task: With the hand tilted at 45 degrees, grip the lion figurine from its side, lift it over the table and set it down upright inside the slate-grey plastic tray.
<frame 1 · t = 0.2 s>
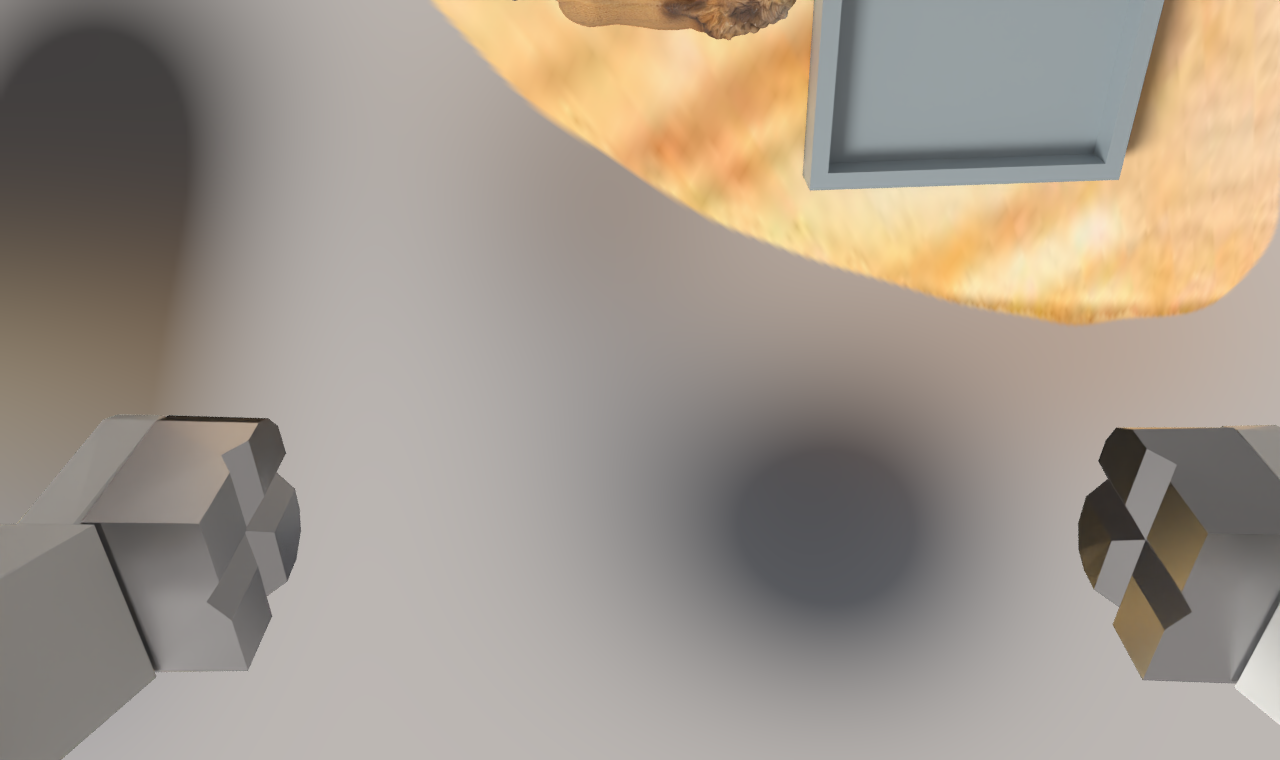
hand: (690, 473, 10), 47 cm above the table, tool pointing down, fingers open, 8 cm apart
grey tray: (972, 32, 53), on the table
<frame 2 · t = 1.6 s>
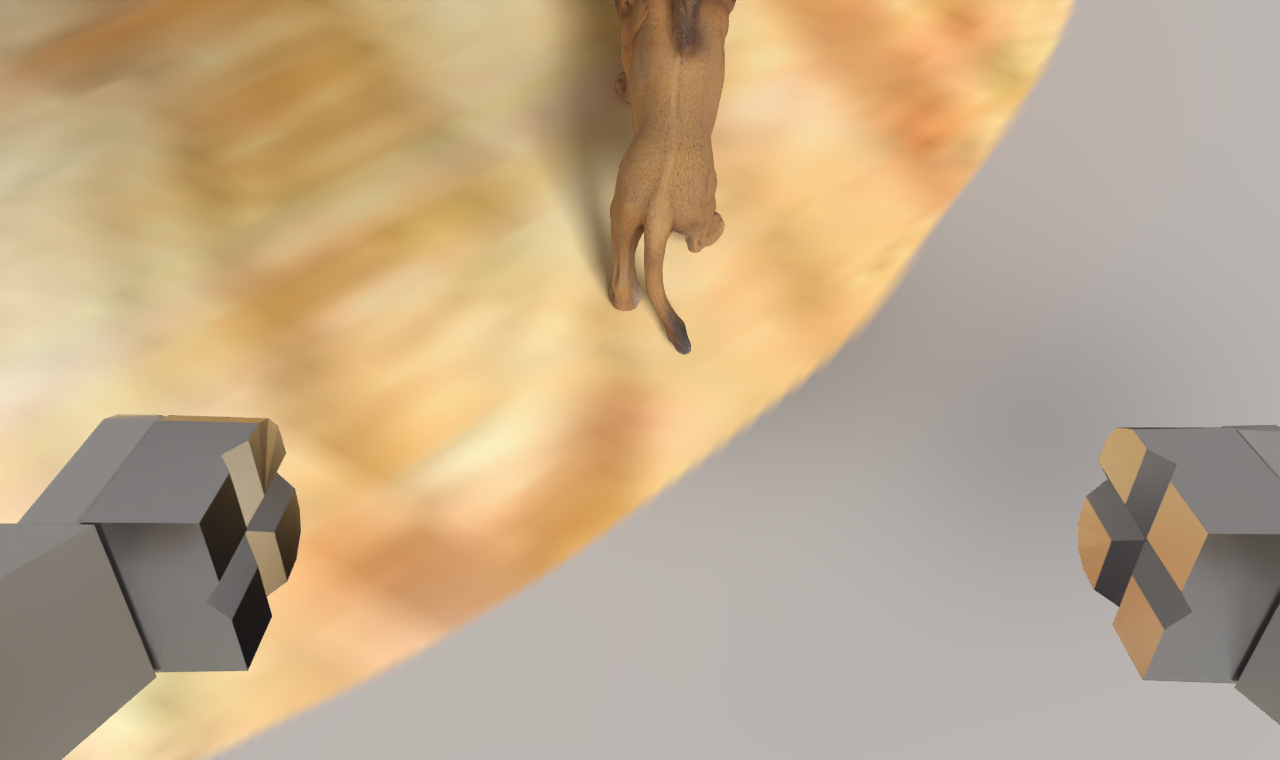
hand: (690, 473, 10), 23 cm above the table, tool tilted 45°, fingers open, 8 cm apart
lion figurine: (652, 153, 35), on the table
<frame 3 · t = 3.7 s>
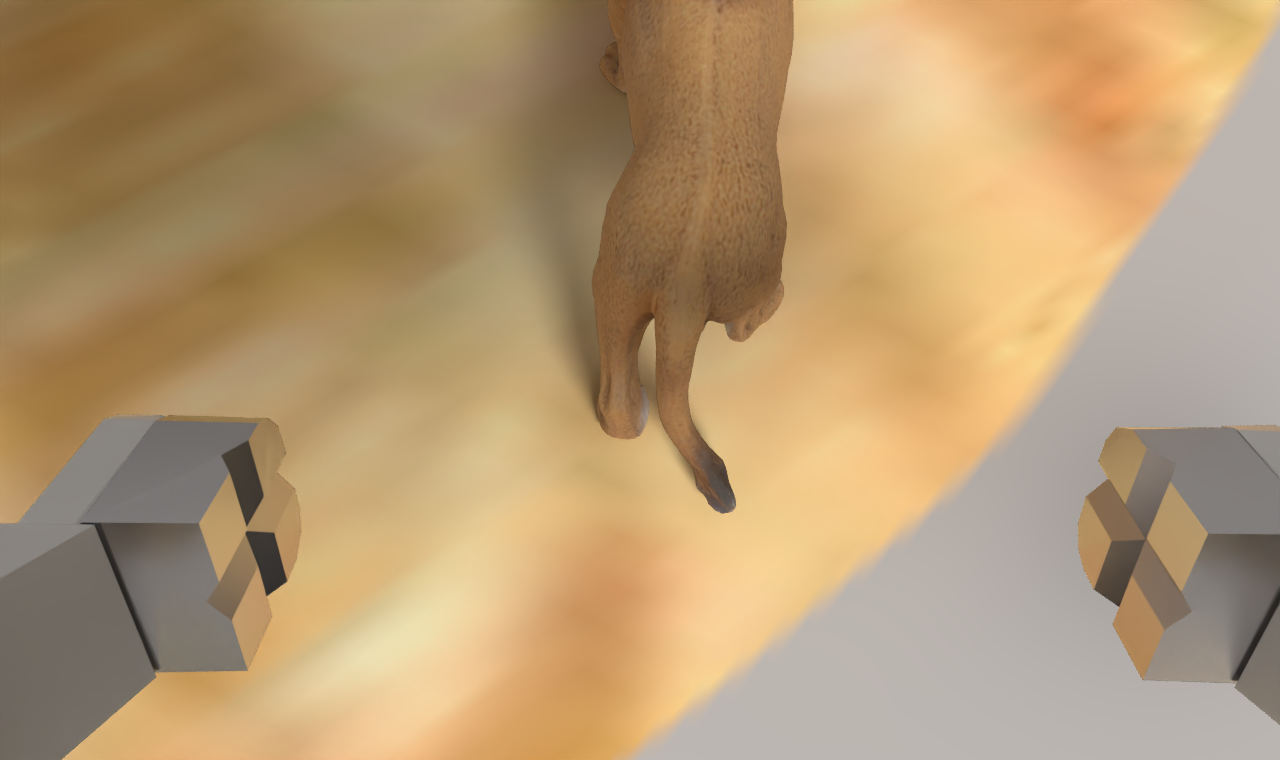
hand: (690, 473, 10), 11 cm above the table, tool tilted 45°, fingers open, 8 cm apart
lion figurine: (663, 173, 22), on the table
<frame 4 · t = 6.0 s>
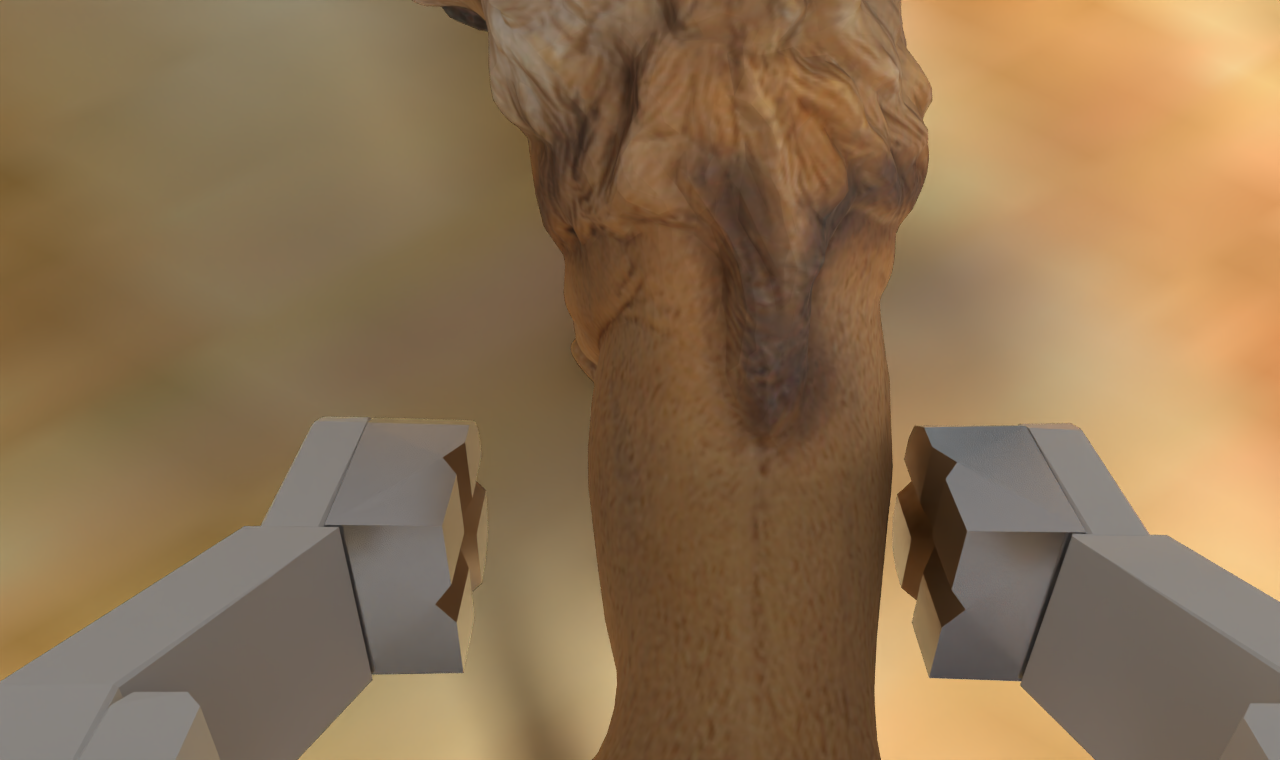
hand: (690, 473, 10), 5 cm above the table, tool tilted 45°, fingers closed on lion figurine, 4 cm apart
lion figurine: (668, 512, 14), on the table, touching gripper
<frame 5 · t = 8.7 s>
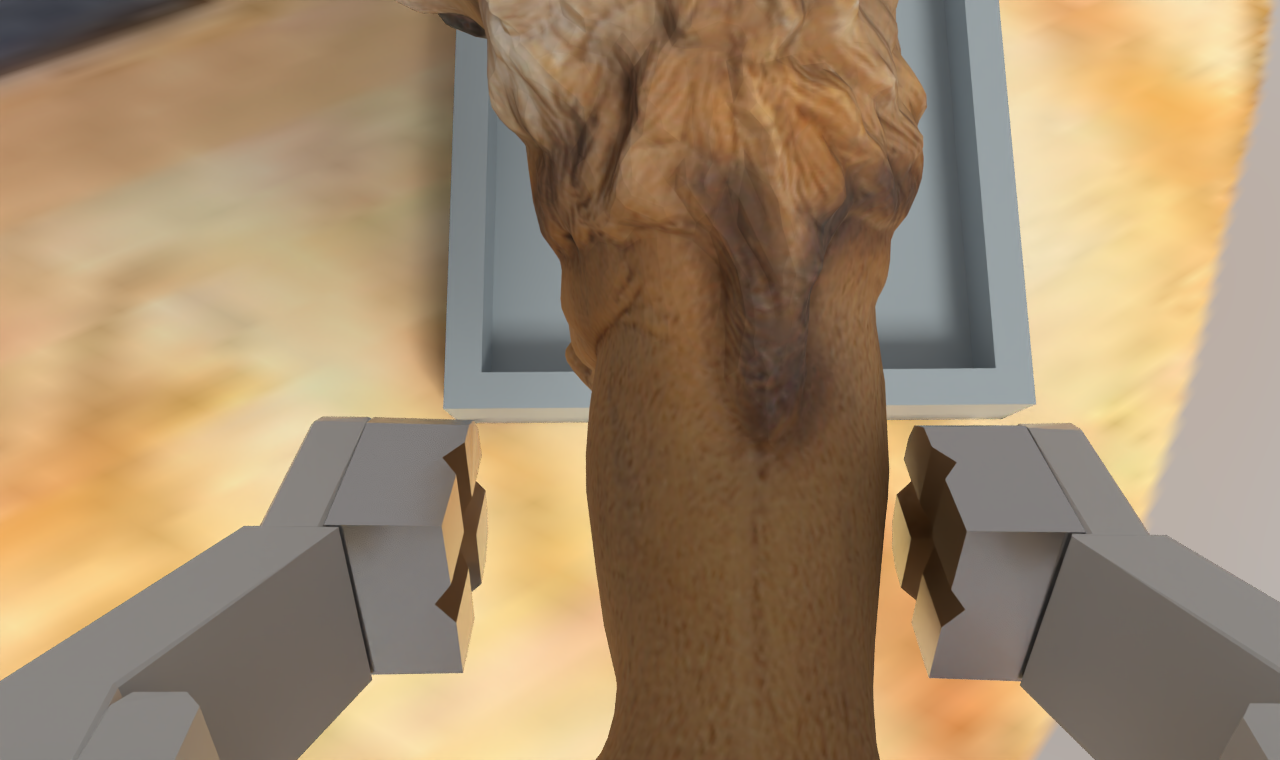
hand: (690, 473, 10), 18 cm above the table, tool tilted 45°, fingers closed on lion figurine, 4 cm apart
grey tray: (723, 138, 30), on the table
lion figurine: (663, 517, 15), point 13 cm above the table, touching gripper
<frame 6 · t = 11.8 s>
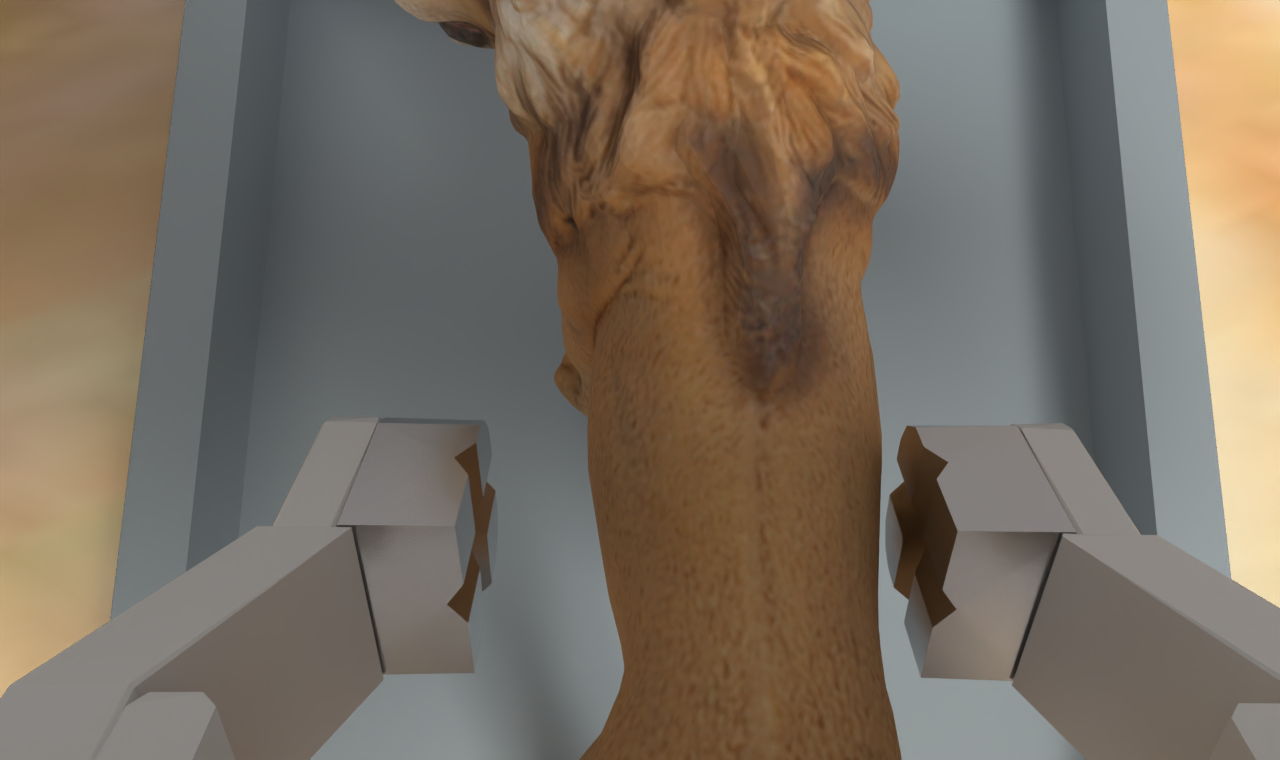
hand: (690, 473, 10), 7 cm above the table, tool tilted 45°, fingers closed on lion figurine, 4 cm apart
grey tray: (669, 414, 17), on the table
lion figurine: (653, 536, 15), point 2 cm above the table, touching grey tray, gripper
when the fingers open (7 cm above the table, at t = 11.9 s): lion figurine stays where it is, resting on grey tray.
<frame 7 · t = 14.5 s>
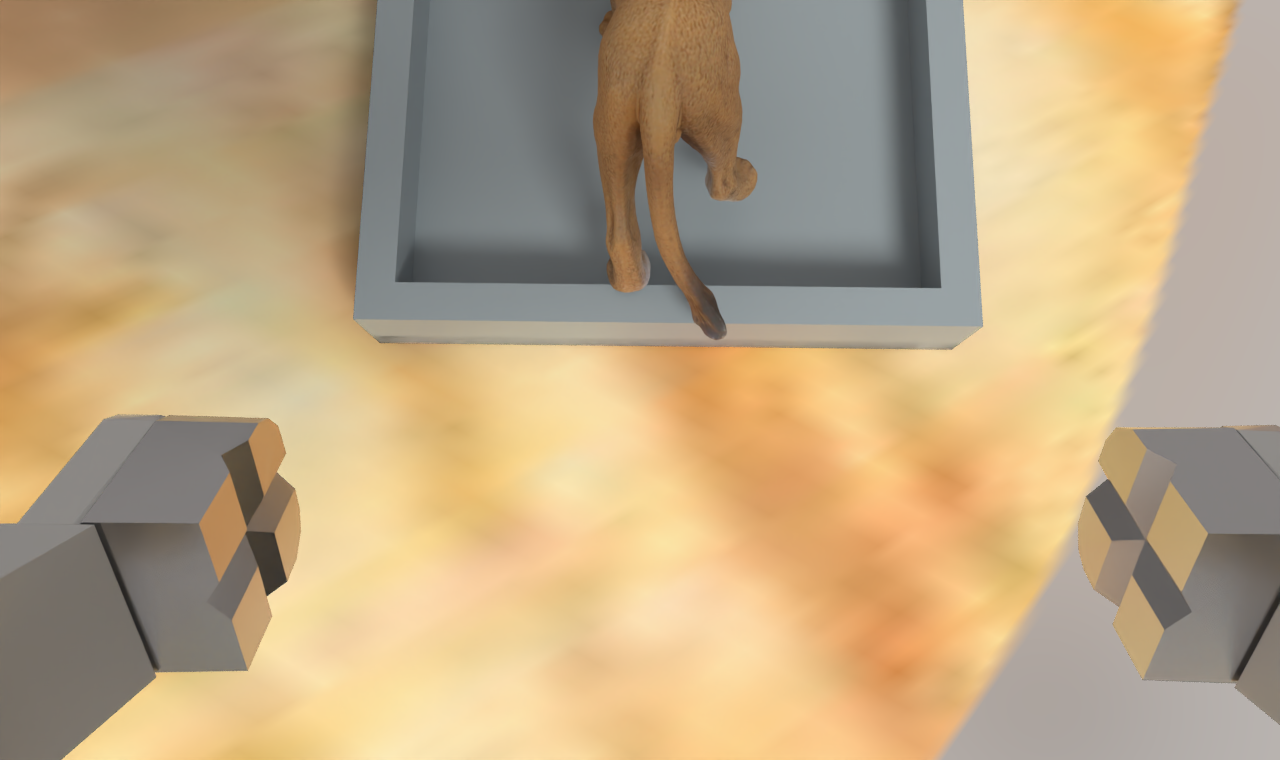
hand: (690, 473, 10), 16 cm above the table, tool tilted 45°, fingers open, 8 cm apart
grey tray: (667, 53, 28), on the table
lion figurine: (654, 104, 27), point 1 cm above the table, touching grey tray
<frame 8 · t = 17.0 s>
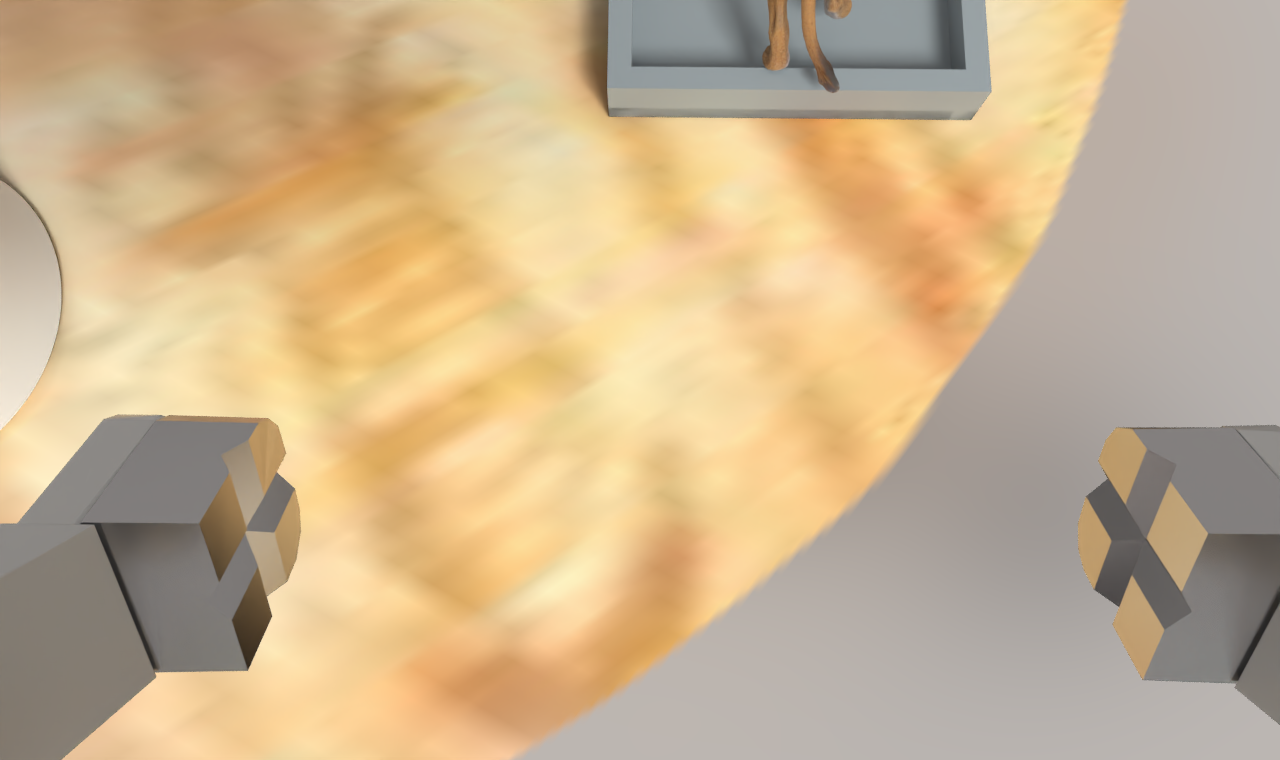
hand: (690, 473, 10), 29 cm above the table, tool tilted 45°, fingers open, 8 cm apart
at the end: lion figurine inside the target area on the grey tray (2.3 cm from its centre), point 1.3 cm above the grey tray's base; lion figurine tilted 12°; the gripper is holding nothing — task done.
